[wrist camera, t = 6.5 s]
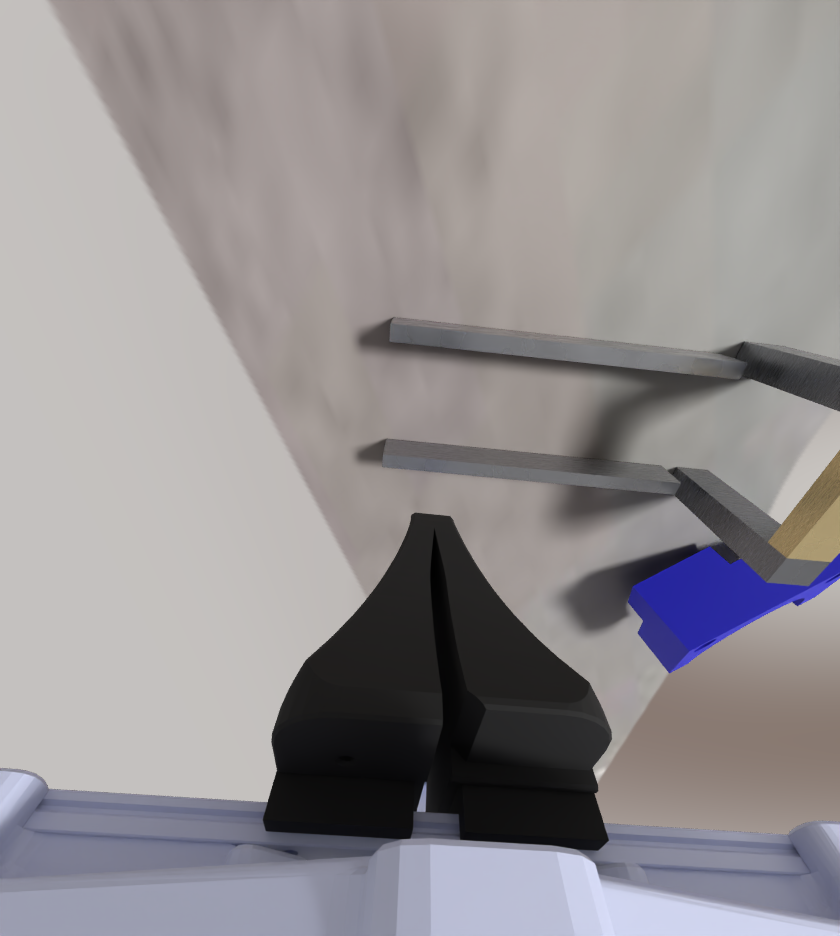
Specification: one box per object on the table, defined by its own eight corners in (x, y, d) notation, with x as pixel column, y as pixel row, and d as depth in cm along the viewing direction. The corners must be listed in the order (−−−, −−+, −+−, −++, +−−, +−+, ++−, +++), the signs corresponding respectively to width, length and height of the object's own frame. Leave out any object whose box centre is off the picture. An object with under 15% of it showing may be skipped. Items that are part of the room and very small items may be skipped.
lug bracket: (696, 490, 23) (808, 586, 16) (666, 487, 23) (766, 582, 16) (781, 345, 18) (986, 395, 12) (744, 341, 18) (929, 389, 12)
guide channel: (655, 476, 22) (674, 494, 21) (385, 450, 22) (382, 466, 20) (718, 353, 19) (748, 362, 17) (393, 317, 18) (390, 323, 16)
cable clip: (632, 586, 24) (623, 615, 29) (689, 651, 21) (669, 673, 26) (785, 506, 25) (754, 547, 29) (864, 559, 22) (815, 596, 26)
